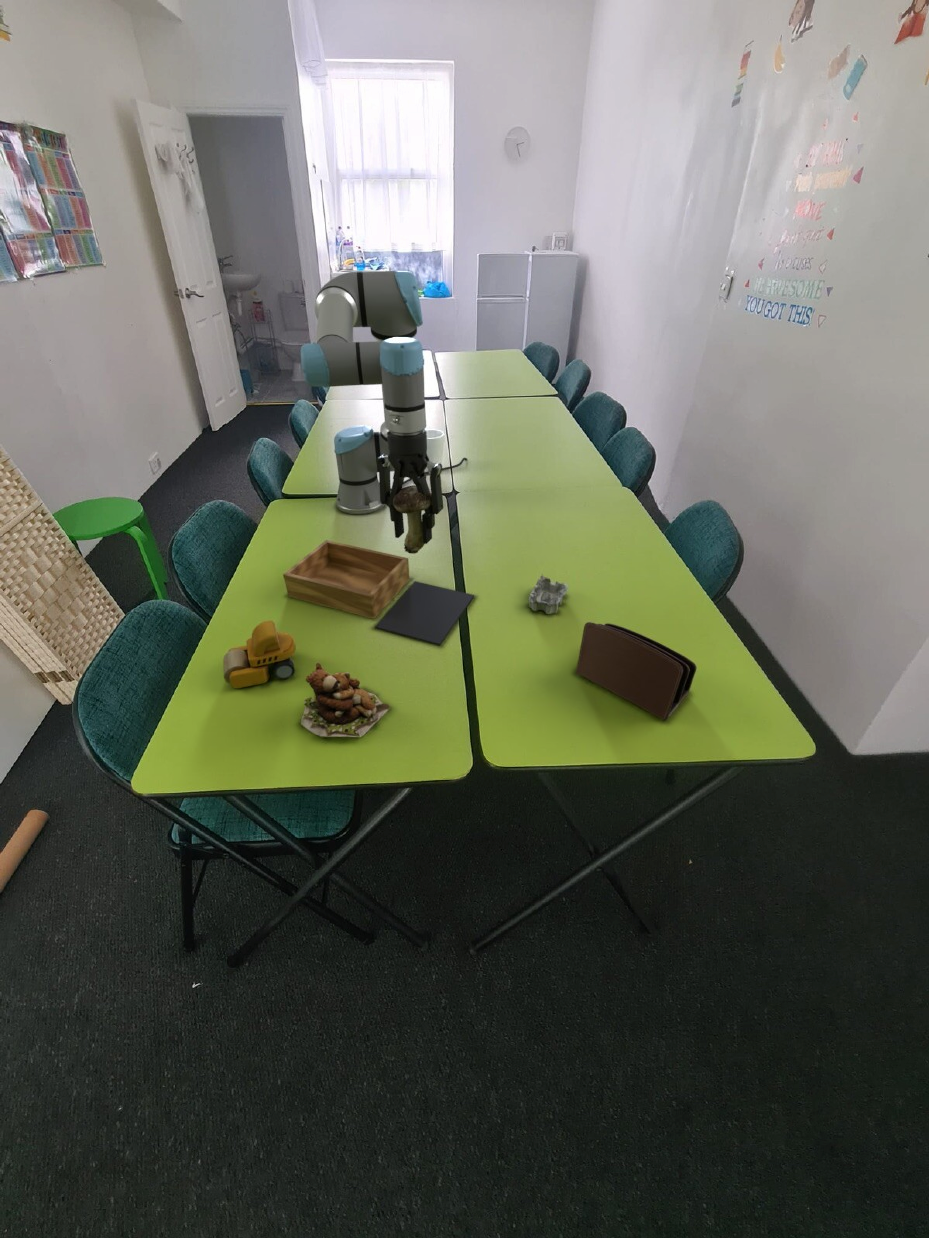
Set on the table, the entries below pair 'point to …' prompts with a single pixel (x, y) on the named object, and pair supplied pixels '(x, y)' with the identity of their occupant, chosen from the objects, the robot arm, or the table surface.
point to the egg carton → (547, 595)
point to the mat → (425, 613)
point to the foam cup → (435, 446)
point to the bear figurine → (340, 706)
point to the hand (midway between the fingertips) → (413, 537)
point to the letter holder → (635, 668)
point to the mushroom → (412, 515)
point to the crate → (348, 578)
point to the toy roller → (260, 657)
